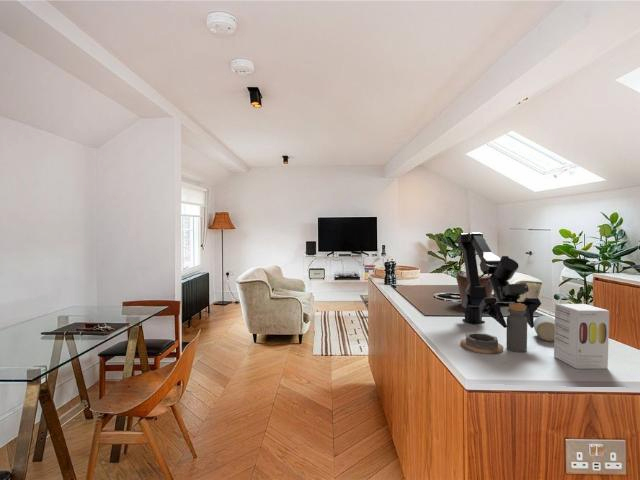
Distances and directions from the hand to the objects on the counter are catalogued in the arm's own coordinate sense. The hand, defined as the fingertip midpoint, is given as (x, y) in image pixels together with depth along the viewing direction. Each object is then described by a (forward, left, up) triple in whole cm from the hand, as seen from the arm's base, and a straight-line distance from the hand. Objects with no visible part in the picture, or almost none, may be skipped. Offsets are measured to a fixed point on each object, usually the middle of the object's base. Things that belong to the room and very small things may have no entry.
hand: (519, 327), depth 108 cm
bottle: (-1, -1, -8) cm, 8 cm away
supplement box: (-8, +14, -8) cm, 18 cm away
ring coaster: (+8, -7, -8) cm, 13 cm away
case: (-40, -54, -8) cm, 68 cm away
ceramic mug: (-21, -4, -8) cm, 23 cm away
